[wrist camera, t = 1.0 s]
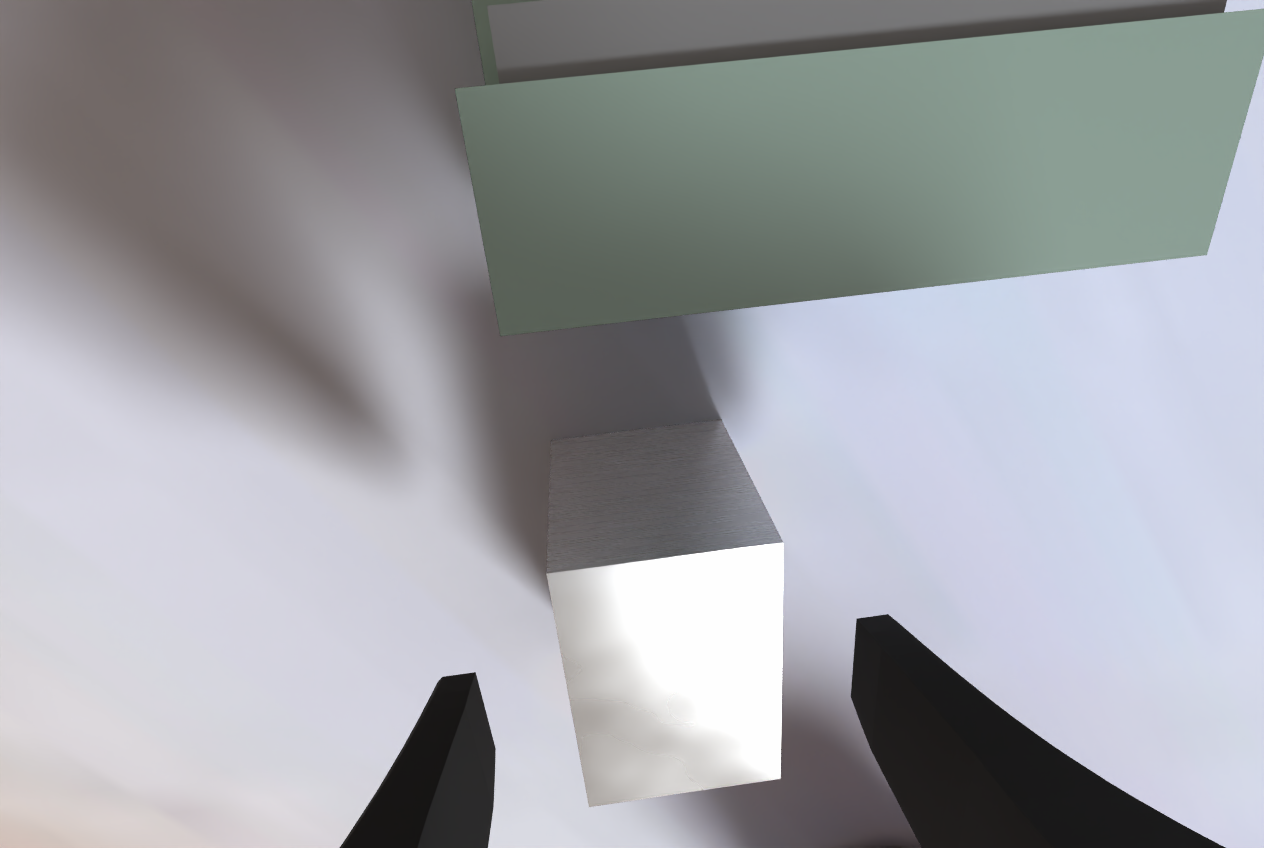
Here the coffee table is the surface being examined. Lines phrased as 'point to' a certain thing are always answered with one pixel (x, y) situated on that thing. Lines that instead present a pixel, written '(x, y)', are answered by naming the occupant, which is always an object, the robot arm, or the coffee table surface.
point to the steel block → (666, 611)
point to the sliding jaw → (842, 146)
